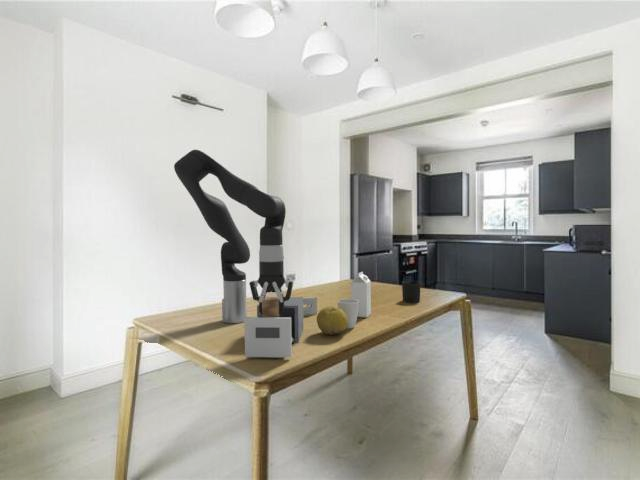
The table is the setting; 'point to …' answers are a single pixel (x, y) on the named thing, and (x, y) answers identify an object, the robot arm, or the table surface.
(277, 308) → the block
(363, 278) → the milk carton
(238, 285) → the robot arm
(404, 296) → the pen holder
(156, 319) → the table surface
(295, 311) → the grey open box
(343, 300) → the cup
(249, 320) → the grey flat-panelled piece
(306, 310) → the cassette
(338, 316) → the fruit
